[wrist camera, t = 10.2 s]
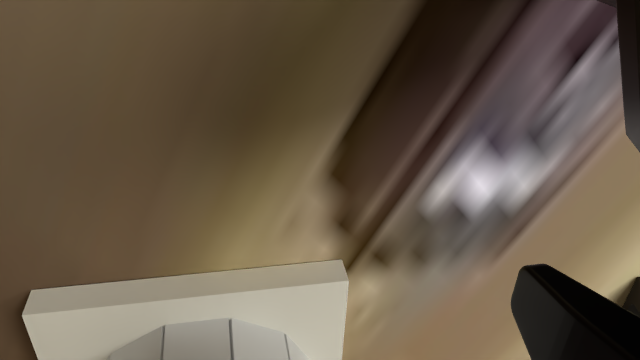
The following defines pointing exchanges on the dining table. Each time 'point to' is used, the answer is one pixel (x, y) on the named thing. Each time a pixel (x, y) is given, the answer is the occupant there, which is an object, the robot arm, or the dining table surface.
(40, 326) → the socket base
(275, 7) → the dining table surface
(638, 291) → the phone stand
